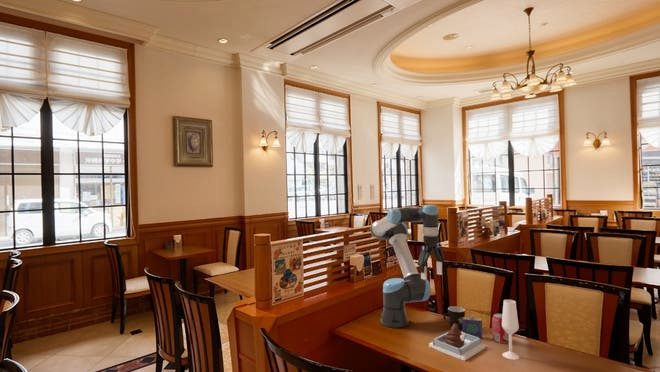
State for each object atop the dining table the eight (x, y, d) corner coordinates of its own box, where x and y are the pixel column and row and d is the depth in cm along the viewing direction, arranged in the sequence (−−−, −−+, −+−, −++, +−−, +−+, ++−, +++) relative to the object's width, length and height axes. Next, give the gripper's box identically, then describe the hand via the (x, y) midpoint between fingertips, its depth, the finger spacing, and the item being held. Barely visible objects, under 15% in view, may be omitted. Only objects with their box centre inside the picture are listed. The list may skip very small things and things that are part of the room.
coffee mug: (463, 325, 192) (462, 306, 192) (467, 331, 183) (467, 312, 183) (440, 324, 193) (440, 306, 193) (444, 331, 184) (443, 311, 184)
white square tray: (428, 346, 167) (428, 338, 167) (450, 335, 179) (450, 327, 179) (464, 360, 153) (464, 351, 153) (485, 348, 165) (485, 339, 165)
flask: (482, 336, 177) (481, 315, 177) (483, 339, 174) (482, 317, 174) (462, 334, 180) (461, 313, 179) (462, 337, 177) (462, 315, 177)
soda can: (508, 338, 174) (507, 314, 174) (508, 344, 168) (508, 319, 168) (492, 336, 177) (491, 312, 177) (492, 342, 171) (491, 317, 170)
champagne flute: (516, 352, 159) (515, 299, 159) (521, 360, 153) (520, 304, 153) (500, 351, 161) (499, 298, 161) (504, 358, 154) (503, 303, 154)
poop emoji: (447, 338, 172) (446, 319, 172) (466, 341, 169) (465, 321, 169) (444, 347, 163) (443, 326, 163) (464, 350, 160) (463, 329, 160)
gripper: (422, 238, 172) (423, 282, 172) (451, 233, 188) (451, 273, 188) (409, 237, 178) (410, 279, 178) (438, 232, 194) (439, 271, 194)
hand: (431, 276), depth 183 cm, fingers open, 13 cm apart
